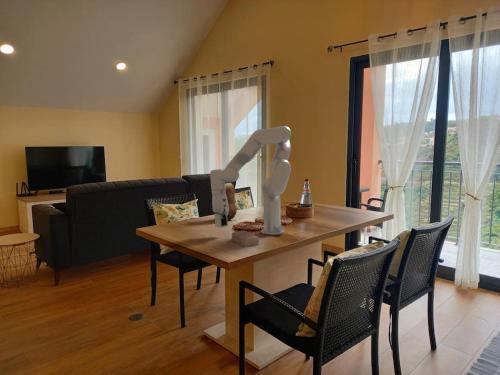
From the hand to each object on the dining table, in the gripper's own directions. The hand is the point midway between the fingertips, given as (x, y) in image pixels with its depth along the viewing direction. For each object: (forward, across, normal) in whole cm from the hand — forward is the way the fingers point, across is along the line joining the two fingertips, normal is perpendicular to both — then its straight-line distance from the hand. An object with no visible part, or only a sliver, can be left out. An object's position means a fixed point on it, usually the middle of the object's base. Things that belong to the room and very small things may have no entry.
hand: (221, 224), depth 206 cm
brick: (+8, -18, -2) cm, 20 cm away
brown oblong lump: (+8, +36, -26) cm, 45 cm away
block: (+1, 0, 0) cm, 1 cm away
